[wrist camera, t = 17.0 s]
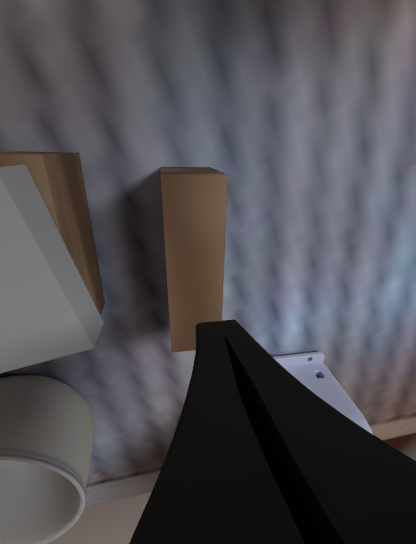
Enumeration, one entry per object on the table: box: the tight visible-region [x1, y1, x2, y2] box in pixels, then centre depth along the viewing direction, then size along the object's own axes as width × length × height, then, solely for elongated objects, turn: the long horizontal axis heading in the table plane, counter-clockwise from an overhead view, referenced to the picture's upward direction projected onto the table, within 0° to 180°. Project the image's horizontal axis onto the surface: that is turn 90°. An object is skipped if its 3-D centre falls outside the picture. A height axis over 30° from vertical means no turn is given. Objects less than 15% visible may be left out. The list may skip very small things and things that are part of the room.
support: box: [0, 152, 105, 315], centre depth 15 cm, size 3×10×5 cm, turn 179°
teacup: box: [0, 375, 94, 544], centre depth 19 cm, size 14×11×8 cm
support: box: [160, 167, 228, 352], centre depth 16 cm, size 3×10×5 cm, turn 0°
